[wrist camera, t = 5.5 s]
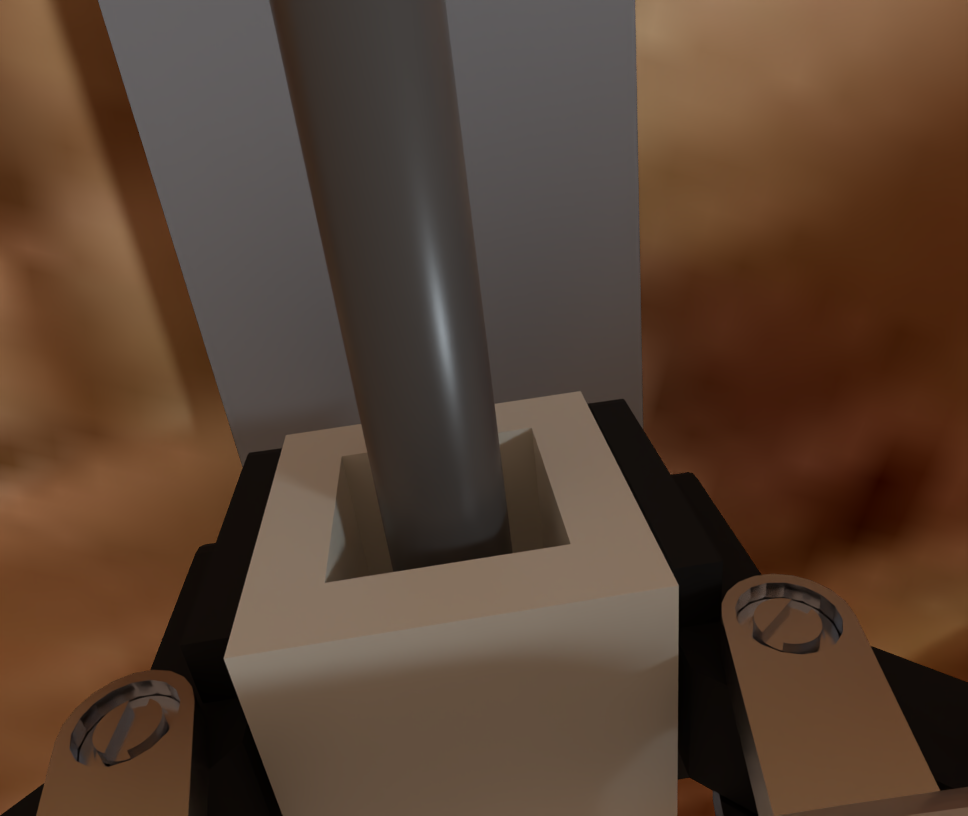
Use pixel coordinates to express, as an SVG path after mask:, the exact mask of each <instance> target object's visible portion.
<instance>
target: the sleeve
mask: <svg viewBox="0 0 968 816" xmlns="http://www.w3.org/2000/svg"><path fill="white" fill-rule="evenodd" d="M495 412H496V420H497V428H498V437H499V445H500V453H501V461H502V469H503V478H504V486H505V494H506V502H507V510H508V519H509V527H510V535H511V543H512V552H513V553H512V554H505V555H499V556H493V557H486V558H480V559H473V560H467V561H461V562H454V563H448V564H442V565H435V566H429V567H423V568H416V569H410V570H404V571H397V572H393V569H392V564H391V559H390V555H389V550H388V546H387V541H386V536H385V532H384V527H383V523H382V518H381V513H380V509H379V504H378V500H377V495H376V490H375V486H374V481H373V477H372V472H371V467H370V463H369V458H368V454H367V449H366V444H365V440H364V435H363V431H362V426H361V424H357V425H350V426H343V427H337V428H330V429H323V430H317V431H310V432H303V433H297V434H290V435H286V437H285V440H284V444H283V447H282V451H281V455H280V458H279V462H278V465H277V469H276V472H275V476H274V480H273V483H272V487H271V490H270V494H269V498H268V501H267V505H266V508H265V512H264V516H263V519H262V523H261V526H260V530H259V533H258V537H257V541H256V544H255V548H254V551H253V555H252V559H251V562H250V566H249V569H248V573H247V577H246V580H245V584H244V587H243V591H242V594H241V598H240V602H239V605H238V609H237V612H236V616H235V620H234V623H233V627H232V630H231V634H230V637H229V641H228V645H227V648H226V652H225V655H224V661H225V664H226V666H227V669H228V672H229V674H230V677H231V680H232V682H233V685H234V688H235V690H236V693H237V695H238V698H239V701H240V703H241V706H242V709H243V711H244V714H245V717H246V719H247V722H248V725H249V727H250V730H251V733H252V735H253V738H254V741H255V743H256V746H257V749H258V751H259V754H260V757H261V759H262V762H263V765H264V767H265V770H266V773H267V775H268V778H269V781H270V783H271V786H272V789H273V791H274V794H275V797H276V799H277V802H278V805H279V807H280V810H281V813H282V815H283V816H677V782H678V632H679V585H678V583H677V581H676V579H675V577H674V575H673V573H672V571H671V569H670V567H669V565H668V563H667V561H666V559H665V557H664V555H663V553H662V551H661V549H660V547H659V545H658V543H657V541H656V539H655V537H654V535H653V533H652V531H651V530H650V528H649V526H648V524H647V522H646V520H645V518H644V516H643V514H642V512H641V510H640V508H639V506H638V504H637V502H636V500H635V498H634V496H633V494H632V492H631V490H630V488H629V486H628V484H627V482H626V480H625V478H624V476H623V474H622V472H621V470H620V468H619V466H618V464H617V462H616V460H615V458H614V456H613V454H612V452H611V450H610V448H609V446H608V444H607V442H606V440H605V438H604V436H603V434H602V432H601V431H600V429H599V427H598V425H597V423H596V421H595V419H594V417H593V415H592V413H591V411H590V409H589V407H588V405H587V403H586V401H585V399H584V397H583V395H582V393H581V391H578V392H571V393H564V394H557V395H551V396H544V397H537V398H531V399H524V400H517V401H511V402H504V403H497V404H495Z"/></svg>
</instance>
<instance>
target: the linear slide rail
mask: <svg viewBox="0 0 968 816" xmlns="http://www.w3.org/2000/svg"><path fill="white" fill-rule="evenodd" d="M98 2H99V5H100V9H101V12H102V15H103V18H104V22H105V25H106V28H107V31H108V34H109V38H110V41H111V44H112V47H113V51H114V54H115V57H116V60H117V63H118V67H119V70H120V73H121V76H122V80H123V83H124V86H125V89H126V92H127V96H128V99H129V102H130V105H131V109H132V112H133V115H134V118H135V122H136V125H137V128H138V131H139V134H140V138H141V141H142V144H143V147H144V151H145V154H146V157H147V160H148V163H149V167H150V170H151V173H152V176H153V180H154V183H155V186H156V189H157V193H158V196H159V199H160V202H161V205H162V209H163V212H164V215H165V218H166V222H167V225H168V228H169V231H170V234H171V238H172V241H173V244H174V247H175V251H176V254H177V257H178V260H179V264H180V267H181V270H182V273H183V276H184V280H185V283H186V286H187V289H188V293H189V296H190V299H191V302H192V305H193V309H194V312H195V315H196V318H197V322H198V325H199V328H200V331H201V334H202V338H203V341H204V344H205V347H206V351H207V354H208V357H209V360H210V364H211V367H212V370H213V373H214V376H215V380H216V383H217V386H218V389H219V393H220V396H221V399H222V402H223V405H224V409H225V412H226V415H227V418H228V422H229V425H230V428H231V431H232V435H233V438H234V441H235V444H236V447H237V451H238V454H239V457H240V460H241V464H242V467H243V466H244V463H245V460H246V457H247V455H248V454H249V453H251V452H258V451H265V450H272V449H278V448H282V447H283V444H284V440H285V437H286V435H290V434H297V433H303V432H310V431H317V430H323V429H330V428H337V427H343V426H350V425H357V424H361V426H362V431H363V435H364V440H365V444H366V449H367V454H368V458H369V463H370V467H371V472H372V477H373V481H374V486H375V490H376V495H377V500H378V504H379V509H380V513H381V518H382V523H383V527H384V532H385V536H386V541H387V546H388V550H389V555H390V559H391V564H392V569H393V572H397V571H404V570H410V569H416V568H423V567H429V566H435V565H442V564H448V563H454V562H461V561H467V560H473V559H480V558H486V557H493V556H499V555H505V554H512V553H513V552H512V543H511V535H510V527H509V519H508V510H507V502H506V494H505V486H504V478H503V469H502V461H501V453H500V445H499V437H498V428H497V420H496V412H495V404H497V403H504V402H511V401H517V400H524V399H531V398H537V397H544V396H551V395H557V394H564V393H571V392H578V391H581V393H582V395H583V397H584V399H585V401H586V403H587V404H589V403H596V402H603V401H610V400H616V399H624V400H625V401H626V403H627V404H628V406H629V408H630V409H631V411H632V412H633V414H634V416H635V417H636V419H637V421H638V422H639V424H640V426H641V427H642V429H643V391H642V338H641V286H640V234H639V182H638V130H637V77H636V25H635V0H98Z"/></svg>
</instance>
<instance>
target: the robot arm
mask: <svg viewBox="0 0 968 816" xmlns="http://www.w3.org/2000/svg"><path fill="white" fill-rule="evenodd" d="M587 405H588V407H589V409H590V411H591V413H592V415H593V417H594V419H595V421H596V423H597V425H598V427H599V429H600V431H601V432H602V434H603V436H604V438H605V440H606V442H607V444H608V446H609V448H610V450H611V452H612V454H613V456H614V458H615V460H616V462H617V464H618V466H619V468H620V470H621V472H622V474H623V476H624V478H625V480H626V482H627V484H628V486H629V488H630V490H631V492H632V494H633V496H634V498H635V500H636V502H637V504H638V506H639V508H640V510H641V512H642V514H643V516H644V518H645V520H646V522H647V524H648V526H649V528H650V530H651V531H652V533H653V535H654V537H655V539H656V541H657V543H658V545H659V547H660V549H661V551H662V553H663V555H664V557H665V559H666V561H667V563H668V565H669V567H670V569H671V571H672V573H673V575H674V577H675V579H676V581H677V583H678V585H679V632H678V779H683V778H691V779H693V780H695V781H697V782H699V783H700V784H702V785H704V786H706V787H708V788H710V789H711V790H713V803H714V809H715V814H716V816H968V682H965V681H962V680H960V679H957V678H954V677H952V676H949V675H946V674H944V673H941V672H938V671H936V670H933V669H930V668H928V667H925V666H922V665H920V664H917V663H914V662H912V661H909V660H907V659H904V658H901V657H899V656H896V655H893V654H891V653H888V652H885V651H883V650H880V649H877V648H875V647H872V646H870V644H869V642H868V640H867V638H866V636H865V634H864V632H863V630H862V628H861V625H860V623H859V621H858V619H857V617H856V615H855V614H854V612H853V611H852V610H851V608H850V607H849V605H848V604H847V603H846V601H845V600H843V599H842V598H841V597H839V596H838V595H837V594H836V593H834V592H833V591H832V590H831V589H829V588H826V587H824V586H822V585H820V584H818V583H816V582H814V581H812V580H808V579H804V578H801V577H797V576H793V575H782V574H767V575H761V573H760V572H759V570H758V569H757V567H756V566H755V564H754V563H753V561H752V560H751V558H750V557H749V555H748V554H747V552H746V551H745V549H744V548H743V546H742V545H741V543H740V542H739V540H738V539H737V537H736V536H735V534H734V533H733V531H732V530H731V528H730V527H729V525H728V524H727V522H726V521H725V519H724V518H723V516H722V515H721V513H720V512H719V510H718V509H717V507H716V506H715V504H714V503H713V501H712V500H711V498H710V497H709V495H708V494H707V492H706V491H705V489H704V488H703V486H702V485H701V483H700V482H699V480H698V479H697V478H696V477H695V475H694V474H693V473H689V472H687V473H680V474H674V475H670V473H669V471H668V470H667V468H666V466H665V465H664V463H663V462H662V460H661V458H660V457H659V455H658V453H657V452H656V450H655V448H654V447H653V445H652V444H651V442H650V440H649V439H648V437H647V435H646V434H645V432H644V430H643V429H642V427H641V426H640V424H639V422H638V421H637V419H636V417H635V416H634V414H633V412H632V411H631V409H630V408H629V406H628V404H627V403H626V401H625V400H624V399H616V400H610V401H603V402H596V403H589V404H587ZM281 451H282V448H278V449H272V450H265V451H258V452H251V453H249V454H248V455H247V457H246V460H245V463H244V466H243V469H242V471H241V474H240V477H239V480H238V483H237V485H236V488H235V491H234V494H233V497H232V499H231V502H230V505H229V508H228V511H227V514H226V516H225V519H224V522H223V525H222V528H221V530H220V533H219V536H218V539H217V542H216V543H212V544H206V545H203V546H201V547H199V549H198V550H197V552H196V554H195V556H194V559H193V562H192V564H191V567H190V569H189V572H188V574H187V577H186V580H185V582H184V585H183V587H182V590H181V592H180V595H179V598H178V600H177V603H176V605H175V608H174V611H173V613H172V616H171V618H170V621H169V623H168V626H167V629H166V631H165V634H164V636H163V639H162V641H161V644H160V647H159V649H158V652H157V654H156V657H155V660H154V662H153V665H152V667H151V670H149V671H144V672H138V673H133V674H131V675H128V676H125V677H123V678H120V679H118V680H115V681H113V682H111V683H109V684H108V685H106V686H104V687H103V688H101V689H99V690H98V691H96V692H94V693H93V694H92V695H91V696H89V697H88V698H87V699H86V700H85V701H84V702H82V703H81V704H80V705H79V706H78V707H77V708H75V710H74V711H73V712H72V714H71V715H70V716H69V717H68V719H67V720H66V721H65V722H64V724H63V725H62V727H61V729H60V732H59V734H58V736H57V739H56V741H55V744H54V748H53V751H52V755H51V759H50V763H49V767H48V771H47V775H46V779H45V783H44V784H42V785H41V786H40V787H38V788H37V789H36V790H34V791H33V792H32V793H30V794H29V795H27V796H26V797H25V798H23V799H22V800H21V801H19V802H18V803H17V804H15V805H14V806H13V807H11V808H10V809H8V810H7V811H6V812H4V813H3V814H2V815H0V816H283V815H282V813H281V810H280V807H279V805H278V802H277V799H276V797H275V794H274V791H273V789H272V786H271V783H270V781H269V778H268V775H267V773H266V770H265V767H264V765H263V762H262V759H261V757H260V754H259V751H258V749H257V746H256V743H255V741H254V738H253V735H252V733H251V730H250V727H249V725H248V722H247V719H246V717H245V714H244V711H243V709H242V706H241V703H240V701H239V698H238V695H237V693H236V690H235V688H234V685H233V682H232V680H231V677H230V674H229V672H228V669H227V666H226V664H225V661H224V655H225V652H226V648H227V645H228V641H229V637H230V634H231V630H232V627H233V623H234V620H235V616H236V612H237V609H238V605H239V602H240V598H241V594H242V591H243V587H244V584H245V580H246V577H247V573H248V569H249V566H250V562H251V559H252V555H253V551H254V548H255V544H256V541H257V537H258V533H259V530H260V526H261V523H262V519H263V516H264V512H265V508H266V505H267V501H268V498H269V494H270V490H271V487H272V483H273V480H274V476H275V472H276V469H277V465H278V462H279V458H280V455H281Z"/></svg>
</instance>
